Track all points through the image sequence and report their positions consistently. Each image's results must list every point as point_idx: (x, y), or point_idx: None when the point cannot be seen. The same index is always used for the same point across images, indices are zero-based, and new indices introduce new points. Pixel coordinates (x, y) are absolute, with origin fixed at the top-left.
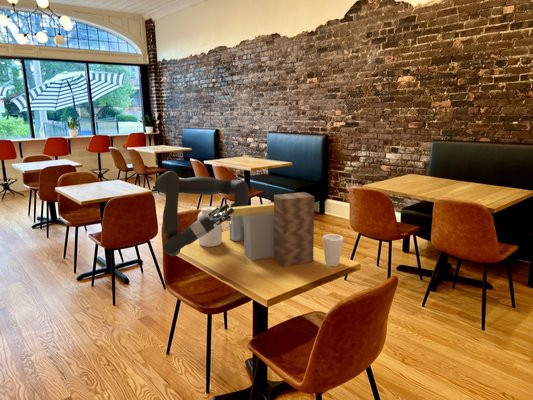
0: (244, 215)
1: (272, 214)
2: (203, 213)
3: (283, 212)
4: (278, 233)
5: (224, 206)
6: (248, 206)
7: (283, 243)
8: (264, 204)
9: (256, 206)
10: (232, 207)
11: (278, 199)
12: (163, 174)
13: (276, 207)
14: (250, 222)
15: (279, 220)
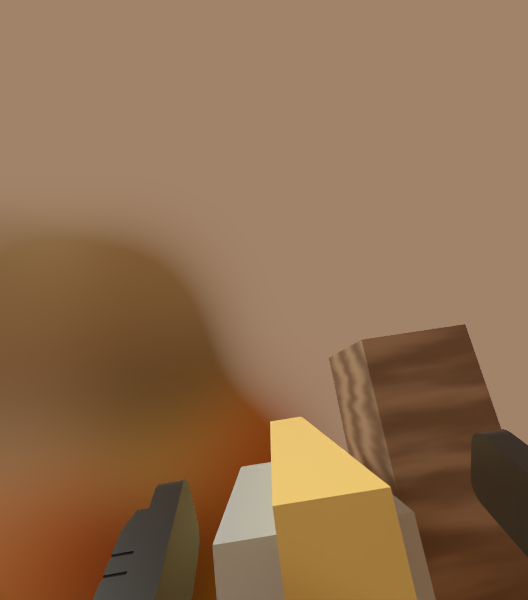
0: (242, 586)
1: None
2: None
3: (483, 390)
4: (483, 547)
5: (173, 554)
6: (297, 447)
7: None
8: (277, 430)
9: (314, 434)
10: (284, 496)
11: (423, 341)
12: None
13: (409, 393)
14: (429, 584)
15: (469, 452)
